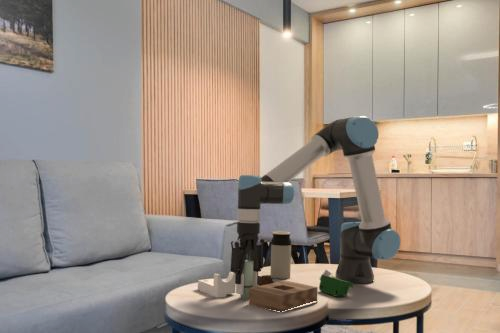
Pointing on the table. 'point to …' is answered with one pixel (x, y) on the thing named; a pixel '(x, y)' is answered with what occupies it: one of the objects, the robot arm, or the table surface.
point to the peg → (247, 278)
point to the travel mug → (280, 255)
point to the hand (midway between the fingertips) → (246, 292)
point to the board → (282, 295)
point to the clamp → (334, 286)
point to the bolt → (264, 280)
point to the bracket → (218, 285)
